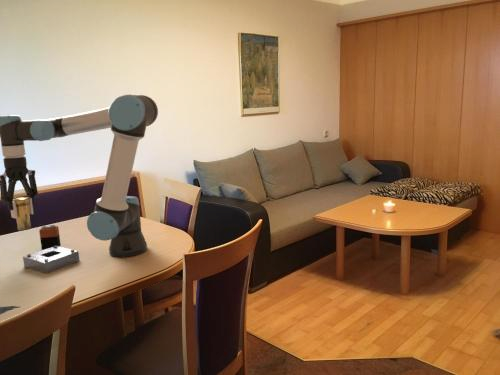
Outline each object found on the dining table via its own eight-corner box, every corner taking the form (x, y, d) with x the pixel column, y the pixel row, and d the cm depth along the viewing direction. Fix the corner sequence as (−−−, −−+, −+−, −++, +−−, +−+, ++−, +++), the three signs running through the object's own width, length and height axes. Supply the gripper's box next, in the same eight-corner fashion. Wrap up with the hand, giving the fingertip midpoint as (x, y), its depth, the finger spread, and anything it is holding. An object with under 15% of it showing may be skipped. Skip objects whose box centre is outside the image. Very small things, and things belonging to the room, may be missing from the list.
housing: (79, 260, 166) (78, 249, 165) (46, 273, 154) (44, 261, 153) (57, 255, 173) (56, 244, 172) (24, 266, 162) (22, 255, 161)
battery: (58, 249, 180) (55, 226, 178) (41, 250, 179) (38, 228, 177) (61, 245, 185) (58, 223, 182) (44, 247, 183) (41, 225, 181)
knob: (35, 227, 167) (31, 198, 164) (21, 231, 162) (17, 201, 159) (27, 225, 170) (23, 196, 167) (13, 229, 165) (8, 199, 162)
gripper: (32, 153, 170) (39, 209, 174) (-17, 159, 154) (-8, 220, 159) (43, 154, 166) (50, 211, 171) (-6, 160, 150) (3, 223, 155)
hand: (22, 215), depth 165 cm, fingers closed on knob, 6 cm apart
